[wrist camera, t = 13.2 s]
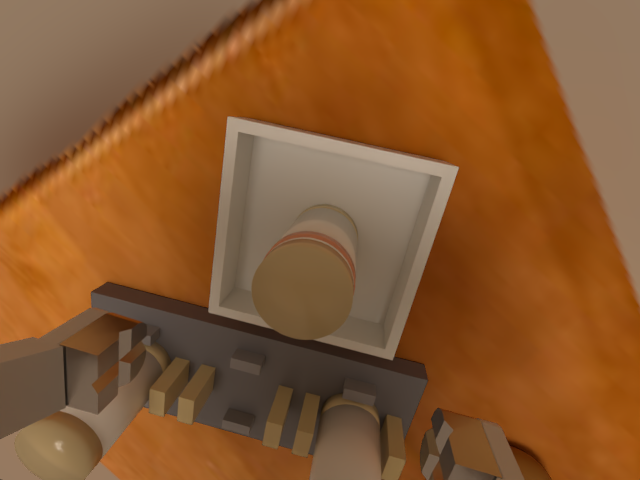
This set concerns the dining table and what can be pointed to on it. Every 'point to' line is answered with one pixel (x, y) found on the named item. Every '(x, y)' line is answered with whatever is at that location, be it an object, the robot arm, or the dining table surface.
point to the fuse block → (265, 376)
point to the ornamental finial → (529, 466)
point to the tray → (338, 190)
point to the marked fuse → (309, 275)
